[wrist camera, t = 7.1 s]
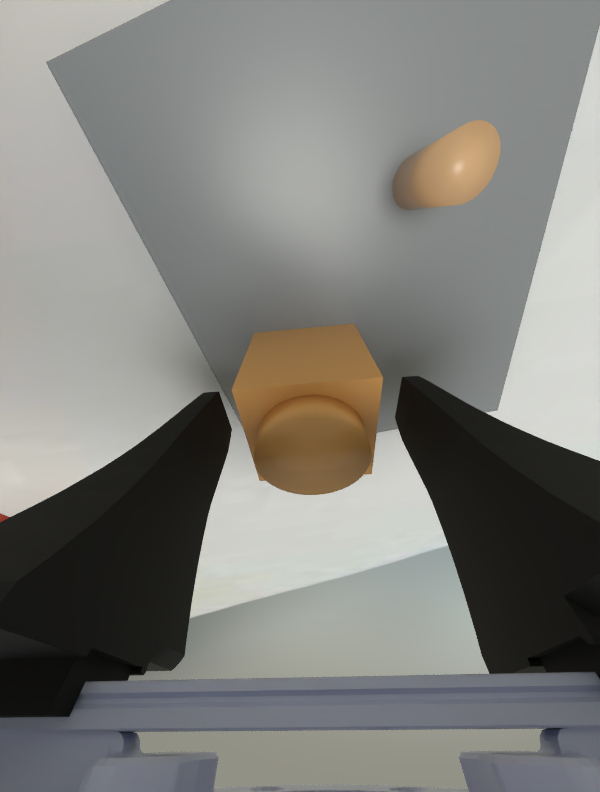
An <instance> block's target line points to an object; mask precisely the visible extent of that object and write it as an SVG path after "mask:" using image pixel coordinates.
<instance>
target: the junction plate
mask: <svg viewBox="0 0 600 792" xmlns="http://www.w3.org/2000/svg"><path fill="white" fill-rule="evenodd" d="M599 25H600V0H170V1H168V2H166V3H164V4H162V5H160V6H158V7H156V8H154V9H152V10H150V11H148V12H146V13H144V14H142V15H140V16H138V17H136V18H134V19H132V20H130V21H128V22H126V23H124V24H122V25H120V26H118V27H116V28H114V29H112V30H110V31H108V32H106V33H104V34H102V35H100V36H98V37H96V38H94V39H92V40H90V41H88V42H86V43H84V44H82V45H80V46H78V47H76V48H74V49H72V50H70V51H68V52H66V53H64V54H62V55H60V56H58V57H56V58H54V59H52V60H50V61H48V62H46V63H47V65H48V67H49V69H50V71H51V72H52V74H53V76H54V78H55V80H56V82H57V83H58V85H59V87H60V89H61V91H62V93H63V95H64V96H65V98H66V100H67V102H68V104H69V106H70V108H71V109H72V111H73V113H74V115H75V117H76V119H77V121H78V122H79V124H80V126H81V128H82V130H83V132H84V133H85V135H86V137H87V139H88V141H89V143H90V145H91V146H92V148H93V150H94V152H95V154H96V156H97V158H98V159H99V161H100V163H101V165H102V167H103V169H104V171H105V172H106V174H107V176H108V178H109V180H110V182H111V183H112V185H113V187H114V189H115V191H116V193H117V195H118V196H119V198H120V200H121V202H122V204H123V206H124V208H125V209H126V211H127V213H128V215H129V217H130V219H131V221H132V222H133V224H134V226H135V228H136V230H137V232H138V233H139V235H140V237H141V239H142V241H143V243H144V245H145V246H146V248H147V250H148V252H149V254H150V256H151V258H152V259H153V261H154V263H155V265H156V267H157V269H158V271H159V272H160V274H161V276H162V278H163V280H164V282H165V284H166V285H167V287H168V289H169V291H170V293H171V295H172V296H173V298H174V300H175V302H176V304H177V306H178V308H179V309H180V311H181V313H182V315H183V317H184V319H185V321H186V322H187V324H188V326H189V328H190V330H191V332H192V334H193V335H194V337H195V339H196V341H197V343H198V345H199V346H200V348H201V350H202V352H203V354H204V356H205V358H206V359H207V361H208V363H209V365H210V367H211V369H212V371H213V372H214V374H215V376H216V378H217V380H218V382H219V384H220V385H221V387H222V389H223V391H224V393H225V395H226V396H227V398H228V400H229V402H230V404H231V406H232V408H233V409H234V411H235V413H236V415H237V417H238V419H239V421H240V422H241V419H240V415H239V412H238V409H237V406H236V403H235V399H234V396H233V393H232V387H233V385H234V382H235V380H236V377H237V375H238V372H239V370H240V367H241V365H242V362H243V360H244V357H245V355H246V352H247V350H248V347H249V345H250V342H251V340H252V337H253V335H254V333H257V332H268V331H279V330H289V329H300V328H311V327H322V326H332V325H343V324H355V326H356V328H357V330H358V332H359V333H360V335H361V337H362V339H363V341H364V343H365V345H366V346H367V348H368V350H369V352H370V354H371V356H372V358H373V359H374V361H375V363H376V365H377V367H378V369H379V371H380V372H381V374H382V376H383V383H382V391H381V400H380V408H379V416H378V424H377V432H383V431H388V430H394V429H398V426H397V423H396V420H395V414H396V408H397V403H398V397H399V391H400V385H401V380H402V377H409V376H420V377H422V378H424V379H426V380H428V381H429V382H431V383H433V384H435V385H436V386H438V387H440V388H442V389H443V390H445V391H447V392H448V393H450V394H452V395H454V396H455V397H457V398H459V399H461V400H462V401H464V402H466V403H468V404H470V405H471V406H473V407H475V408H477V409H479V410H481V411H483V412H491V411H496V410H498V406H499V402H500V399H501V395H502V391H503V387H504V384H505V380H506V376H507V372H508V369H509V365H510V361H511V357H512V353H513V350H514V346H515V342H516V338H517V335H518V331H519V327H520V323H521V319H522V316H523V312H524V308H525V304H526V301H527V297H528V293H529V289H530V286H531V282H532V278H533V274H534V270H535V267H536V263H537V259H538V255H539V252H540V248H541V244H542V240H543V237H544V233H545V229H546V225H547V221H548V218H549V214H550V210H551V206H552V203H553V199H554V195H555V191H556V188H557V184H558V180H559V176H560V172H561V169H562V165H563V161H564V157H565V154H566V150H567V146H568V142H569V138H570V135H571V131H572V127H573V123H574V120H575V116H576V112H577V108H578V105H579V101H580V97H581V93H582V89H583V86H584V82H585V78H586V74H587V71H588V67H589V63H590V59H591V56H592V52H593V48H594V44H595V40H596V37H597V33H598V29H599ZM241 424H242V422H241ZM242 426H243V425H242Z"/></svg>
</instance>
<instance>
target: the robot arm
mask: <svg viewBox="0 0 600 792" xmlns="http://www.w3.org/2000/svg"><path fill="white" fill-rule="evenodd" d="M395 420H396V423H397V426H398V429H399V432H400V435H401V438H402V440H403V442H404V445H405V447H406V449H407V451H408V453H409V455H410V457H411V459H412V461H413V463H414V465H415V467H416V469H417V471H418V473H419V475H420V477H421V479H422V481H423V483H424V485H425V487H426V489H427V491H428V493H429V495H430V498H431V500H432V502H433V505H434V507H435V510H436V513H437V515H438V518H439V521H440V523H441V526H442V529H443V532H444V534H445V537H446V540H447V543H448V546H449V549H450V551H451V554H452V557H453V560H454V563H455V566H456V569H457V573H458V576H459V579H460V582H461V585H462V588H463V591H464V594H465V598H466V601H467V605H468V608H469V611H470V615H471V618H472V622H473V625H474V628H475V631H476V635H477V639H478V642H479V646H480V650H481V654H482V657H483V659H484V661H485V664H486V666H487V668H488V671H489V673H490V674H460V675H410V676H358V677H308V678H307V677H305V678H304V677H303V678H252V679H198V680H149V681H147V680H146V681H128V678H129V675H144V674H145V672H146V671H171V670H172V669H174V668H175V667H176V666H177V665H178V664H179V662H180V661H181V660H182V659H183V657H184V655H185V647H186V639H187V631H188V624H189V617H190V610H191V602H192V596H193V590H194V584H195V578H196V572H197V566H198V561H199V556H200V551H201V546H202V540H203V536H204V531H205V527H206V522H207V517H208V513H209V509H210V506H211V502H212V499H213V496H214V493H215V490H216V487H217V484H218V481H219V478H220V475H221V472H222V469H223V466H224V462H225V459H226V456H227V453H228V449H229V443H230V437H231V431H232V428H231V425H230V423H229V420H228V417H227V414H226V411H225V408H224V405H223V402H222V400H221V397H220V394H219V392H207V393H203V394H201V395H200V396H199V397H197V398H196V399H195V400H193V401H192V402H191V403H190V404H188V405H187V406H186V407H185V408H184V409H182V410H181V411H180V412H179V413H178V414H176V415H175V416H174V417H173V418H171V419H170V420H169V421H168V422H166V423H165V424H164V425H163V426H161V427H160V428H159V429H157V430H156V431H155V432H153V433H152V434H151V435H150V436H148V437H147V438H146V439H144V440H143V441H142V442H140V443H139V444H138V445H136V446H135V447H133V448H132V449H130V450H129V451H127V452H126V453H125V454H123V455H122V456H120V457H118V458H117V459H115V460H114V461H112V462H111V463H109V464H108V465H106V466H104V467H103V468H101V469H100V470H98V471H96V472H94V473H93V474H91V475H89V476H87V477H86V478H84V479H82V480H80V481H79V482H77V483H75V484H73V485H72V486H70V487H68V488H67V489H65V490H63V491H61V492H59V493H57V494H55V495H54V496H52V497H50V498H48V499H46V500H44V501H42V502H40V503H38V504H36V505H34V506H32V507H30V508H28V509H26V510H24V511H22V512H20V513H18V514H16V515H14V516H12V517H10V518H8V519H6V520H4V521H2V522H0V792H600V461H598V460H595V459H593V458H590V457H587V456H584V455H582V454H579V453H576V452H574V451H571V450H568V449H566V448H563V447H560V446H558V445H555V444H553V443H550V442H548V441H545V440H543V439H540V438H538V437H536V436H533V435H531V434H529V433H526V432H524V431H522V430H520V429H517V428H515V427H513V426H511V425H509V424H506V423H504V422H502V421H500V420H498V419H496V418H494V417H492V416H490V415H488V414H486V413H485V412H483V411H481V410H479V409H477V408H475V407H473V406H471V405H470V404H468V403H466V402H464V401H462V400H461V399H459V398H457V397H455V396H454V395H452V394H450V393H448V392H447V391H445V390H443V389H442V388H440V387H438V386H436V385H435V384H433V383H431V382H429V381H428V380H426V379H424V378H422V377H420V376H409V377H402V380H401V385H400V391H399V397H398V403H397V408H396V414H395ZM535 728H537V729H544V730H542V732H541V735H540V743H541V747H540V750H539V751H538V752H528V751H473V752H472V751H471V752H461V753H460V756H459V759H460V763H461V766H462V769H463V773H464V776H465V779H466V783H467V786H468V789H452V788H430V787H428V788H427V787H406V786H378V785H285V786H256V787H230V788H214V782H215V776H216V769H217V762H218V756H217V754H216V753H215V752H159V753H142V751H141V750H140V740H139V737H138V735H137V733H135V732H164V731H165V732H166V731H167V732H169V731H171V732H174V731H175V732H178V731H290V730H291V731H297V730H298V731H302V730H418V729H419V730H421V729H422V730H423V729H535Z"/></svg>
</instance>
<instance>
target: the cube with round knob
mask: <svg viewBox="0 0 600 792" xmlns="http://www.w3.org/2000/svg"><path fill="white" fill-rule="evenodd" d="M382 383H383V376H382V374H381V372H380V371H379V369H378V367H377V365H376V363H375V361H374V359H373V358H372V356H371V354H370V352H369V350H368V348H367V346H366V345H365V343H364V341H363V339H362V337H361V335H360V333H359V332H358V330H357V328H356V326H355V324H343V325H332V326H322V327H311V328H300V329H289V330H279V331H268V332H257V333H254V335H253V337H252V340H251V342H250V345H249V347H248V350H247V352H246V355H245V357H244V360H243V362H242V365H241V367H240V370H239V372H238V375H237V377H236V380H235V382H234V385H233V387H232V393H233V396H234V399H235V403H236V406H237V409H238V412H239V415H240V419H241V422H242V425H243V428H244V432H245V435H246V438H247V441H248V444H249V448H250V451H251V454H252V457H253V460H254V464H255V467H256V470H257V473H258V477H259V480H260V481H267V482H269V483H270V484H271V485H273V486H275V487H277V488H279V489H281V490H284V491H287V492H291V493H295V494H303V495H318V494H326V493H331V492H335V491H338V490H341V489H343V488H345V487H348V486H349V485H351V484H353V483H354V482H356V481H357V480H358V479H359V478H361V477H362V476H363V474H372V466H373V458H374V449H375V441H376V433H377V424H378V416H379V408H380V400H381V391H382Z"/></svg>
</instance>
